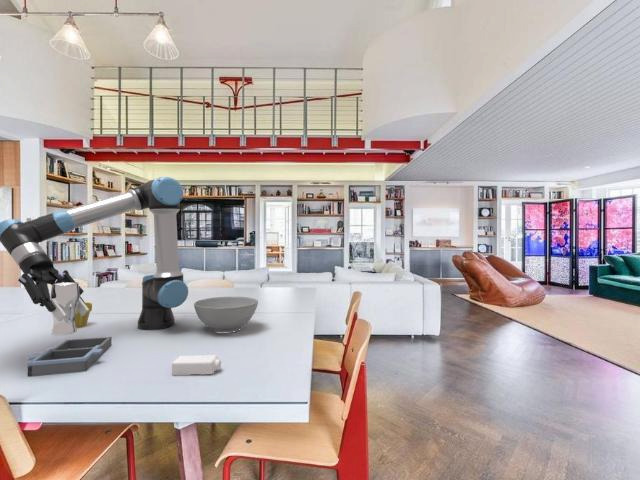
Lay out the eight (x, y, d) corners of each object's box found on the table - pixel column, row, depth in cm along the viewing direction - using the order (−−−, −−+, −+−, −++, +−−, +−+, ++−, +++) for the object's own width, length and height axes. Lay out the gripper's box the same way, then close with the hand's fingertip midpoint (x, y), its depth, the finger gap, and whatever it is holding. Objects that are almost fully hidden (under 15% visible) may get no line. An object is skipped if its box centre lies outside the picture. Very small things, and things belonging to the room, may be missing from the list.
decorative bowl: (269, 325, 149) (269, 299, 149) (230, 342, 125) (231, 310, 125) (223, 319, 160) (223, 294, 160) (179, 333, 136) (179, 304, 136)
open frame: (117, 344, 121) (117, 334, 121) (93, 370, 97) (93, 357, 97) (59, 348, 115) (59, 338, 115) (18, 377, 91) (18, 363, 91)
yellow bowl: (96, 325, 147) (96, 303, 147) (68, 330, 138) (69, 307, 138) (85, 322, 152) (85, 301, 152) (58, 327, 144) (58, 304, 144)
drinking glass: (46, 337, 95) (47, 285, 95) (53, 331, 101) (54, 282, 101) (76, 334, 98) (77, 284, 98) (80, 328, 105) (81, 281, 105)
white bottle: (217, 376, 94) (217, 361, 94) (171, 376, 93) (171, 362, 93) (222, 367, 100) (223, 354, 100) (180, 368, 100) (180, 354, 100)
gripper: (57, 266, 113) (95, 316, 109) (-11, 271, 94) (32, 332, 90) (70, 251, 112) (109, 301, 108) (3, 253, 93) (48, 314, 89)
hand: (74, 315), depth 99 cm, fingers closed on drinking glass, 7 cm apart
